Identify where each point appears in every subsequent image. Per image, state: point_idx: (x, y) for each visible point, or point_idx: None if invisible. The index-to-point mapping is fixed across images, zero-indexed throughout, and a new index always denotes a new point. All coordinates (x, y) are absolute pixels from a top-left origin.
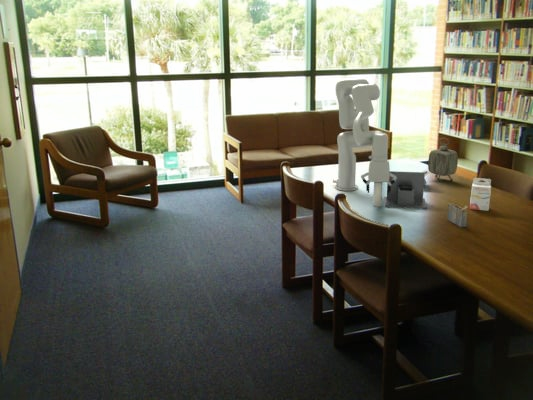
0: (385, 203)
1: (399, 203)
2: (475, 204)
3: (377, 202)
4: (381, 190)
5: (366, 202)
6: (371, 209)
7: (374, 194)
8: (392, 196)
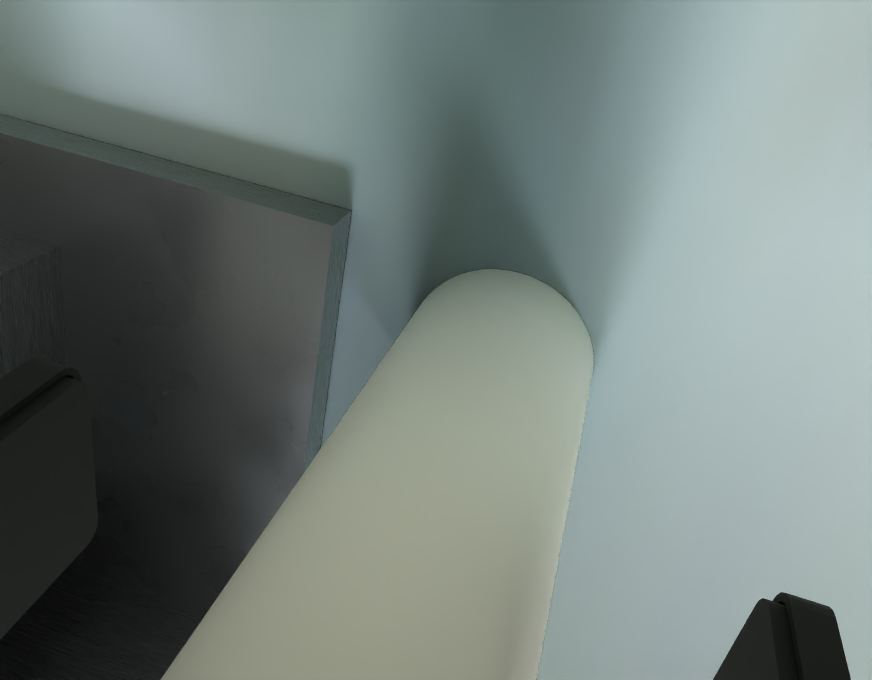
0: (302, 344)
1: (7, 244)
2: None
3: (495, 313)
4: (249, 554)
5: (679, 580)
6: (752, 28)
7: (542, 513)
8: (131, 627)
